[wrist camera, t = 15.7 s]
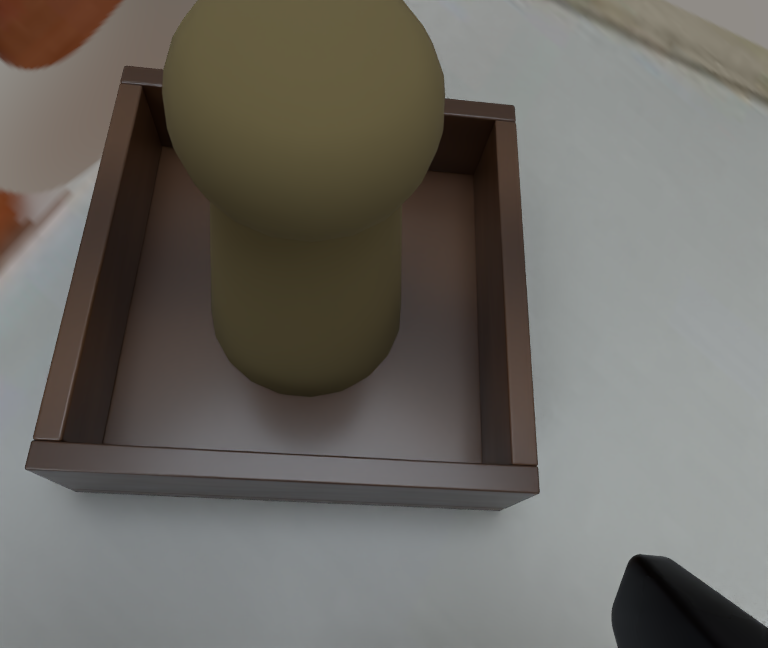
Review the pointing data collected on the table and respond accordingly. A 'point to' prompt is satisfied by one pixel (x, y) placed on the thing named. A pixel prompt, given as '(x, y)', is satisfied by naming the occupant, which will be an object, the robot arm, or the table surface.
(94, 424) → the tray
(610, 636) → the table surface
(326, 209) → the olive pawn figure
